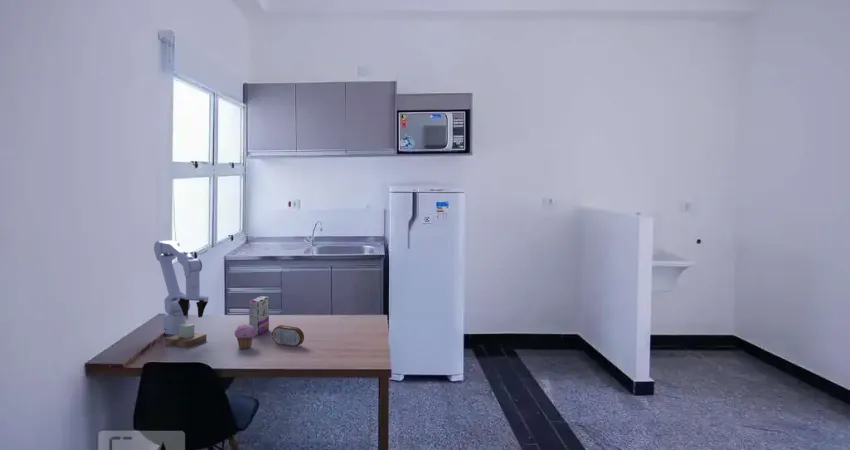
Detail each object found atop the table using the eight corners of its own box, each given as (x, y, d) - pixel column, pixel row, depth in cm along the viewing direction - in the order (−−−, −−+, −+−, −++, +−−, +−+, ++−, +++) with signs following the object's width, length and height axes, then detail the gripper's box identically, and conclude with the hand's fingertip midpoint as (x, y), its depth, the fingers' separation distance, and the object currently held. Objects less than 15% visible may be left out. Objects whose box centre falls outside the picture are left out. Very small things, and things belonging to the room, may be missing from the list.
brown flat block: (165, 345, 264) (165, 338, 263) (182, 338, 275) (182, 331, 275) (189, 348, 261) (189, 341, 260) (206, 340, 272) (206, 334, 272)
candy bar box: (259, 329, 295) (259, 295, 294) (269, 330, 294) (269, 296, 293) (248, 335, 284) (248, 300, 283) (258, 336, 283) (258, 301, 282)
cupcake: (233, 345, 267) (234, 322, 266) (254, 344, 270) (254, 321, 269) (235, 351, 259) (235, 327, 258) (256, 349, 262) (256, 326, 261)
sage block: (178, 336, 267) (178, 325, 267) (187, 334, 271) (187, 323, 271) (185, 338, 265) (186, 326, 265) (194, 335, 269) (194, 324, 268)
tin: (304, 346, 269) (304, 327, 269) (300, 348, 266) (300, 329, 266) (274, 342, 274) (275, 323, 273) (270, 344, 271) (271, 325, 270)
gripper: (212, 285, 275) (212, 315, 276) (184, 283, 278) (184, 313, 279) (202, 288, 268) (202, 318, 269) (174, 286, 272) (174, 316, 273)
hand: (193, 316), depth 274 cm, fingers open, 7 cm apart
